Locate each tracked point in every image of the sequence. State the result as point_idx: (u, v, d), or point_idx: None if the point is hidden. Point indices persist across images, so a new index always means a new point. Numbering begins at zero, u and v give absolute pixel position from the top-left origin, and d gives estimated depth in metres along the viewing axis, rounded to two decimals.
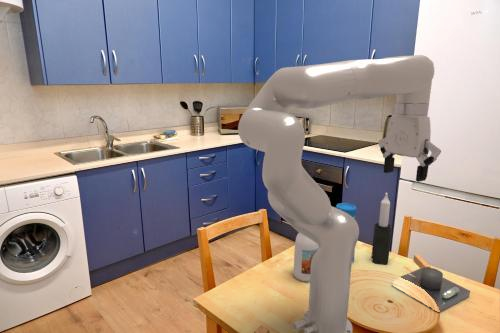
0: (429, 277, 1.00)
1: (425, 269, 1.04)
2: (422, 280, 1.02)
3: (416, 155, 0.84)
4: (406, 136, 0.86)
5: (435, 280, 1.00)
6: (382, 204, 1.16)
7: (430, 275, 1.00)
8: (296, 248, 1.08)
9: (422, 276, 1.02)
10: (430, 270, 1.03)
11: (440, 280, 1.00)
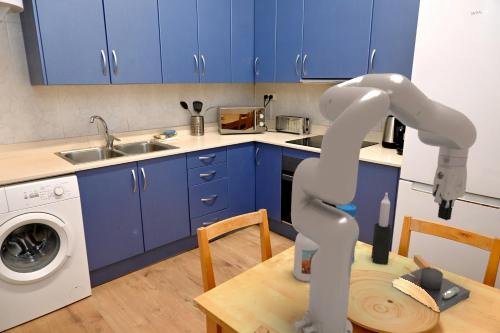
0: (429, 277, 1.00)
1: (425, 269, 1.04)
2: (422, 280, 1.02)
3: (464, 194, 1.05)
4: (461, 182, 1.03)
5: (435, 280, 1.00)
6: (382, 204, 1.16)
7: (430, 275, 1.00)
8: (296, 248, 1.08)
9: (422, 276, 1.02)
10: (430, 270, 1.03)
11: (440, 280, 1.00)
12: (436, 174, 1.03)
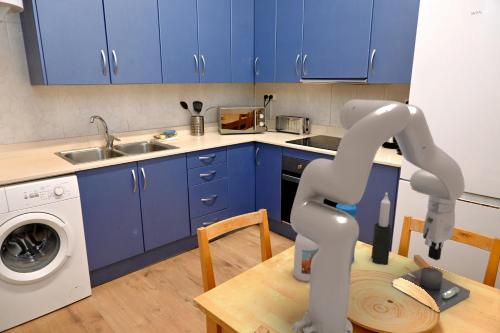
0: (429, 277, 1.00)
1: (425, 269, 1.04)
2: (422, 280, 1.02)
3: None
4: (449, 226, 1.10)
5: (435, 280, 1.00)
6: (382, 204, 1.16)
7: (430, 275, 1.00)
8: (296, 248, 1.08)
9: (422, 276, 1.02)
10: (430, 270, 1.03)
11: (440, 280, 1.00)
12: (426, 218, 1.10)
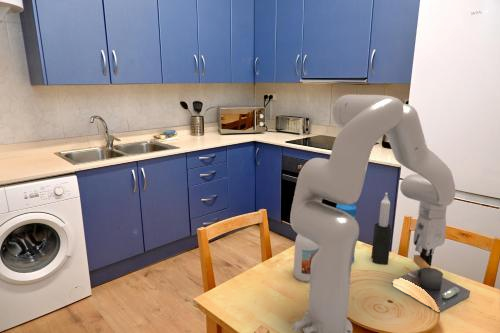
0: (429, 277, 1.00)
1: (425, 269, 1.04)
2: (422, 280, 1.02)
3: (443, 242, 1.11)
4: (440, 232, 1.08)
5: (435, 280, 1.00)
6: (382, 204, 1.16)
7: (430, 275, 1.00)
8: (296, 248, 1.08)
9: (422, 276, 1.02)
10: (430, 270, 1.03)
11: (440, 280, 1.00)
12: (417, 224, 1.08)
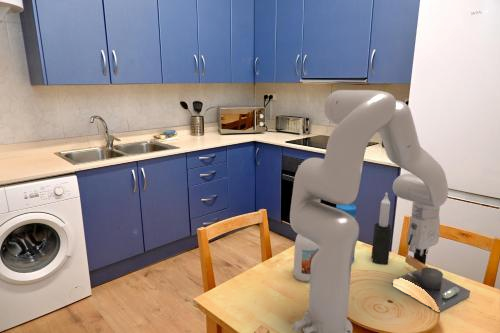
0: (432, 278, 1.00)
1: (424, 270, 1.03)
2: (424, 282, 1.01)
3: (437, 242, 1.09)
4: (434, 231, 1.06)
5: (438, 280, 1.00)
6: (382, 204, 1.16)
7: (433, 276, 1.00)
8: (296, 248, 1.08)
9: (424, 278, 1.01)
10: (429, 270, 1.03)
11: (441, 279, 1.00)
12: (410, 224, 1.06)
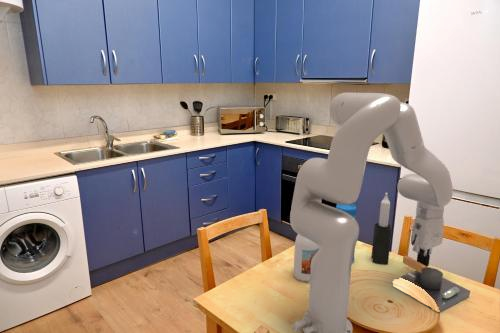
0: (433, 278, 1.00)
1: (424, 270, 1.03)
2: (425, 282, 1.01)
3: (441, 242, 1.10)
4: (438, 232, 1.07)
5: (439, 280, 1.00)
6: (382, 204, 1.16)
7: (434, 276, 1.00)
8: (296, 248, 1.08)
9: (425, 278, 1.01)
10: (429, 270, 1.03)
11: None
12: (414, 224, 1.07)
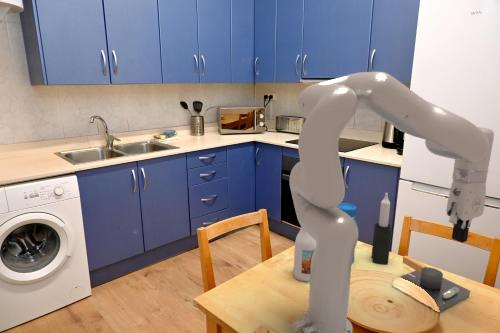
0: (434, 278, 1.00)
1: (424, 270, 1.03)
2: (425, 282, 1.01)
3: None
4: (480, 199, 0.90)
5: (439, 280, 1.00)
6: (382, 204, 1.16)
7: (434, 276, 1.00)
8: (296, 248, 1.08)
9: (425, 278, 1.01)
10: (429, 270, 1.03)
11: None
12: (451, 190, 0.90)
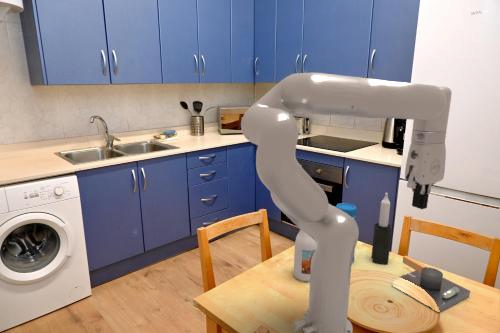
0: (434, 278, 1.00)
1: (424, 270, 1.03)
2: (425, 282, 1.01)
3: None
4: (439, 163, 0.86)
5: (439, 280, 1.00)
6: (382, 204, 1.16)
7: (434, 276, 1.00)
8: (296, 248, 1.08)
9: (425, 278, 1.01)
10: (429, 270, 1.03)
11: None
12: (409, 153, 0.86)
